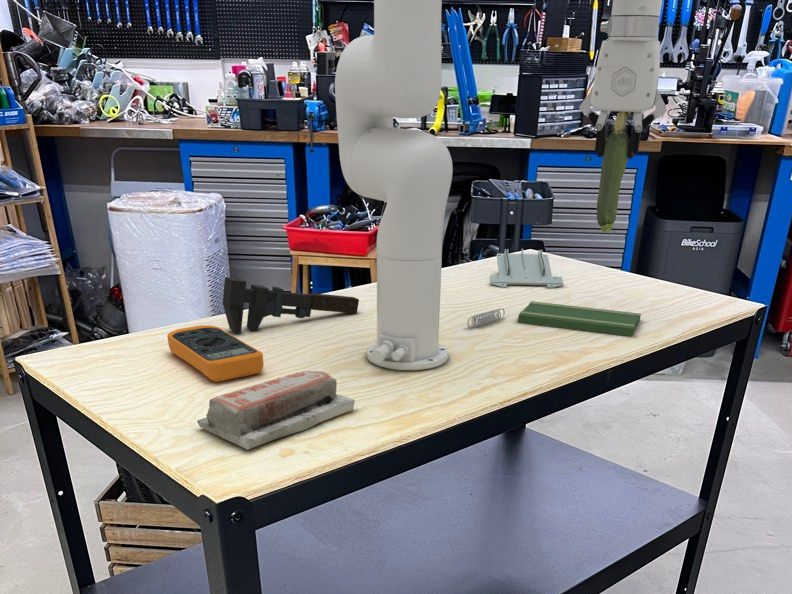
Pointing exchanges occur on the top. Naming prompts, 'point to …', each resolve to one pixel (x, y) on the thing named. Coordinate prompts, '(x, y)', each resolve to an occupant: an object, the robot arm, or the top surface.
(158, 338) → the top surface
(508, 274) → the metal bracket
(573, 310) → the green rectangular slab
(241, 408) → the packaged product
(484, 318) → the spring
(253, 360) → the multimeter
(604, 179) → the vegetable
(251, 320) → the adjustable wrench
